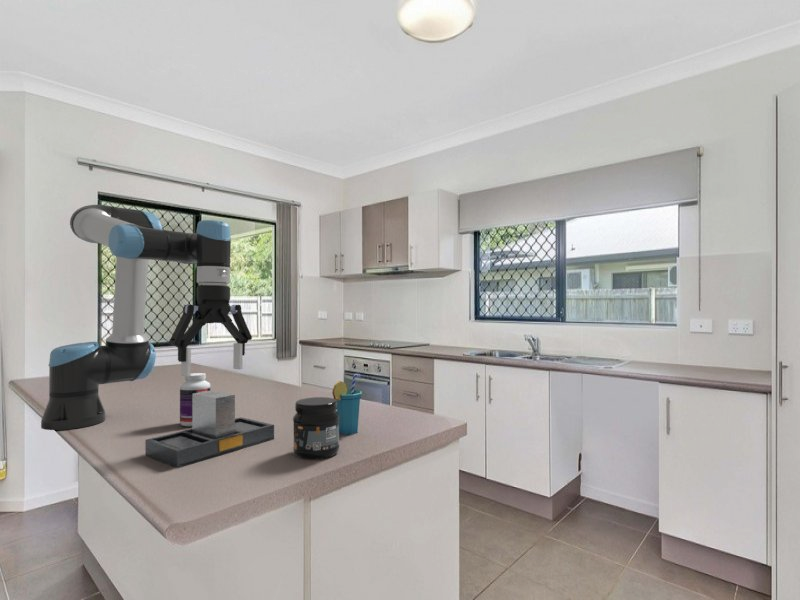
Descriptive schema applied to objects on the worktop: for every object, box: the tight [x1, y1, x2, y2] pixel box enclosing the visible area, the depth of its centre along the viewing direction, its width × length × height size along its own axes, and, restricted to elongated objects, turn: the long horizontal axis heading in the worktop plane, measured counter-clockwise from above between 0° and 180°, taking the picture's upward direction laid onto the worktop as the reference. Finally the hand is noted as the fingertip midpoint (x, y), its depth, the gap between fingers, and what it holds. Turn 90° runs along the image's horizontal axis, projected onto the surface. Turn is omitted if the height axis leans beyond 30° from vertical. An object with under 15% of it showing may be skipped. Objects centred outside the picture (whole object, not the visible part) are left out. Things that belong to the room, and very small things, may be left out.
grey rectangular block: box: [191, 389, 236, 440], centre depth 107 cm, size 10×5×12 cm, turn 54°
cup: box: [331, 373, 362, 436], centre depth 120 cm, size 14×8×15 cm, turn 161°
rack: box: [144, 416, 275, 469], centre depth 107 cm, size 14×25×4 cm, turn 144°
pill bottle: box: [179, 372, 211, 428], centre depth 128 cm, size 8×8×14 cm
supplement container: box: [292, 396, 340, 461], centre depth 102 cm, size 10×10×12 cm
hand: (213, 372), depth 107 cm, fingers open, 13 cm apart
